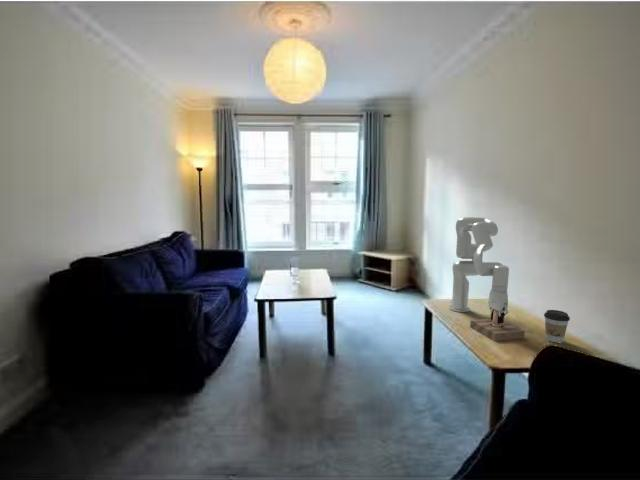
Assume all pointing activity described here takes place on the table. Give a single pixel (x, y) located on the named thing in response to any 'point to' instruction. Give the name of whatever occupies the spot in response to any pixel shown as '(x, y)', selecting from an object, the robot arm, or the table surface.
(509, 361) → the table surface
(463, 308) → the robot arm
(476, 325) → the board
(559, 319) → the coffee cup
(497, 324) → the peg
